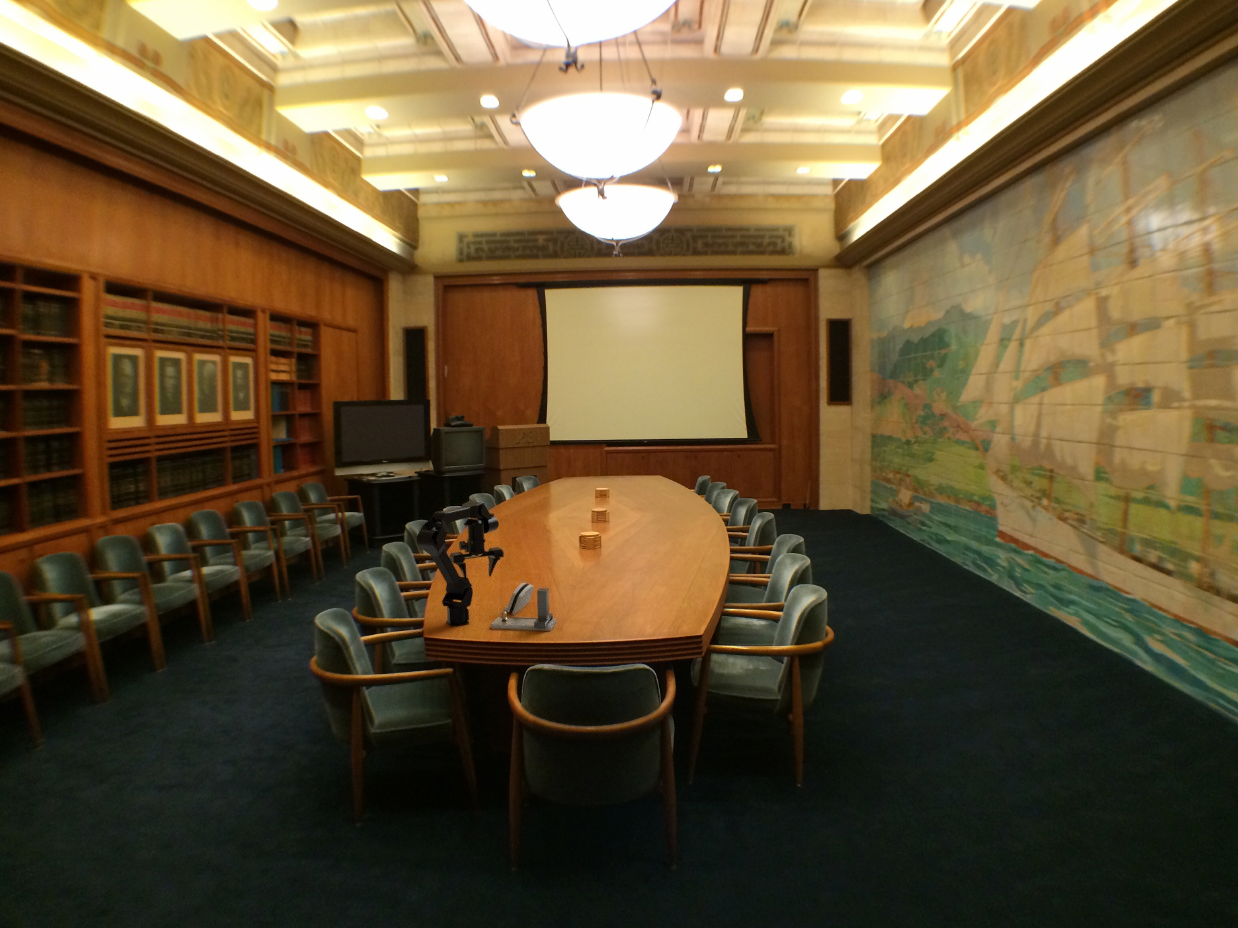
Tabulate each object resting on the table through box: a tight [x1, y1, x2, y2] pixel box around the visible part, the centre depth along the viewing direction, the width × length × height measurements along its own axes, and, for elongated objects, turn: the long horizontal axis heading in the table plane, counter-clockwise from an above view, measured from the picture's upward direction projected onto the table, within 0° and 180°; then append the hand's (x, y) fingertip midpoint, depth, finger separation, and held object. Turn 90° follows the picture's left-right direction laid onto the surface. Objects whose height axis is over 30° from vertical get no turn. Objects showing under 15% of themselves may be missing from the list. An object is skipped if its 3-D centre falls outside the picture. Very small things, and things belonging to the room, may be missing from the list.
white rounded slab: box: [502, 582, 535, 616], centre depth 259 cm, size 17×5×10 cm, turn 168°
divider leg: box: [534, 587, 554, 629], centre depth 238 cm, size 4×10×12 cm, turn 172°
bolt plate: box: [490, 611, 557, 632], centre depth 239 cm, size 21×8×4 cm, turn 82°
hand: (477, 578), depth 252 cm, fingers open, 9 cm apart
